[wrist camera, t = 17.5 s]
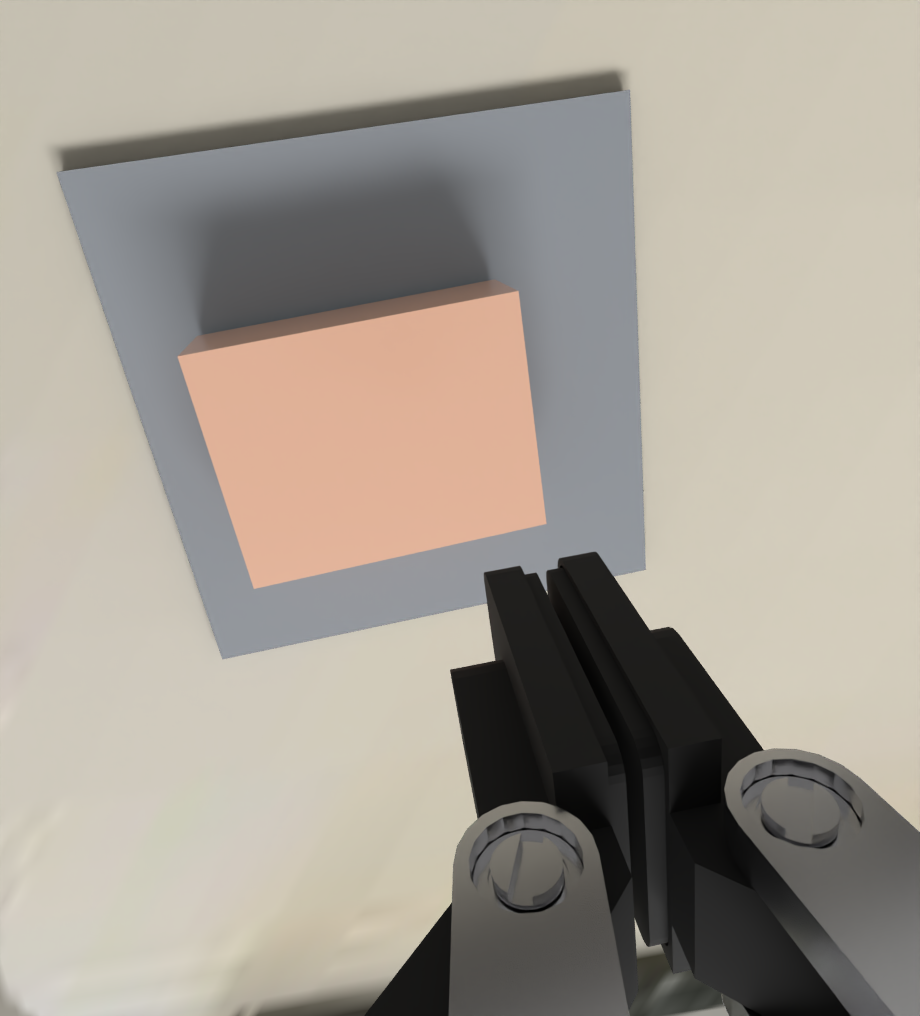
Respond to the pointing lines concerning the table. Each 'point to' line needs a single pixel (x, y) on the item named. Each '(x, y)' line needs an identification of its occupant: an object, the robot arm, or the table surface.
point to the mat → (376, 277)
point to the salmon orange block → (370, 429)
